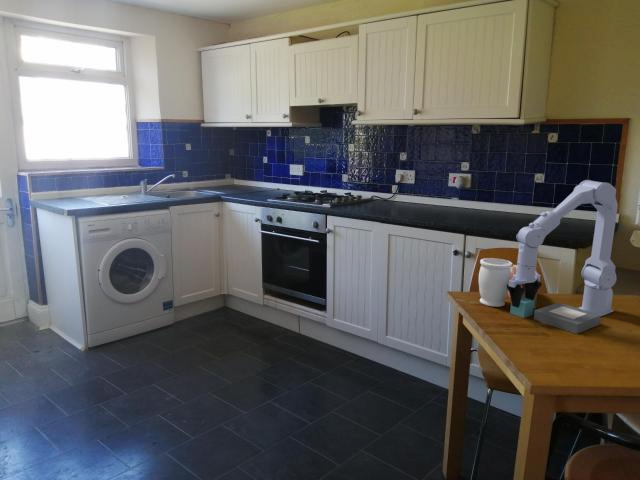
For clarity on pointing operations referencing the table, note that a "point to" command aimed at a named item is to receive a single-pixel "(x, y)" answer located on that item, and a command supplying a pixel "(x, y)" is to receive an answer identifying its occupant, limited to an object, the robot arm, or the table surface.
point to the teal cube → (523, 308)
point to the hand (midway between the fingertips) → (522, 304)
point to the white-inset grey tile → (567, 317)
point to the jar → (494, 281)
